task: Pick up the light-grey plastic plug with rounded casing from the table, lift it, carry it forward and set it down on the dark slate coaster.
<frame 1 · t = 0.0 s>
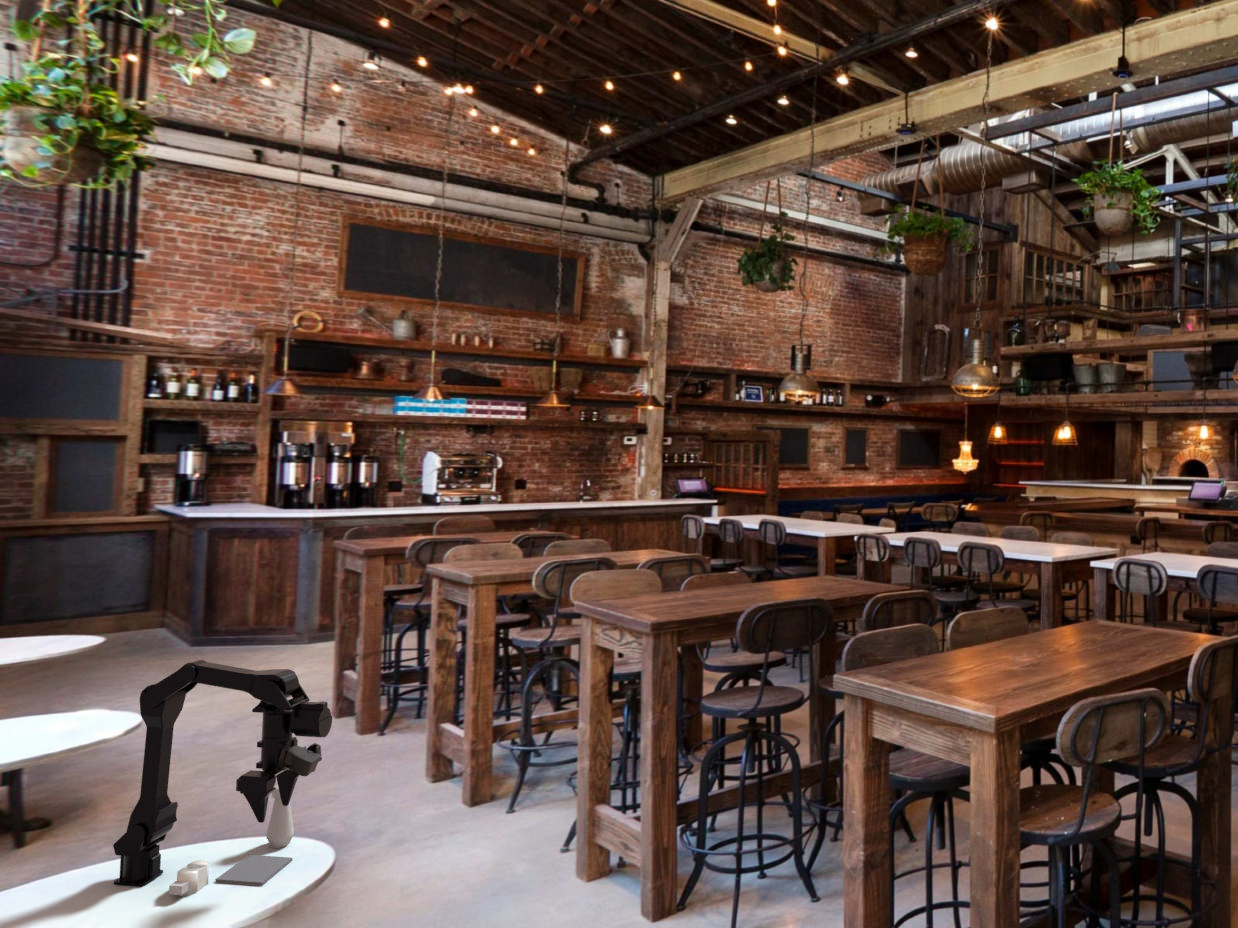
hand: (273, 813, 164), 15 cm above the table, fingers open, 9 cm apart
coaster: (255, 870, 171), on the table
plug: (192, 887, 163), on the table
salt shaker: (279, 845, 185), on the table
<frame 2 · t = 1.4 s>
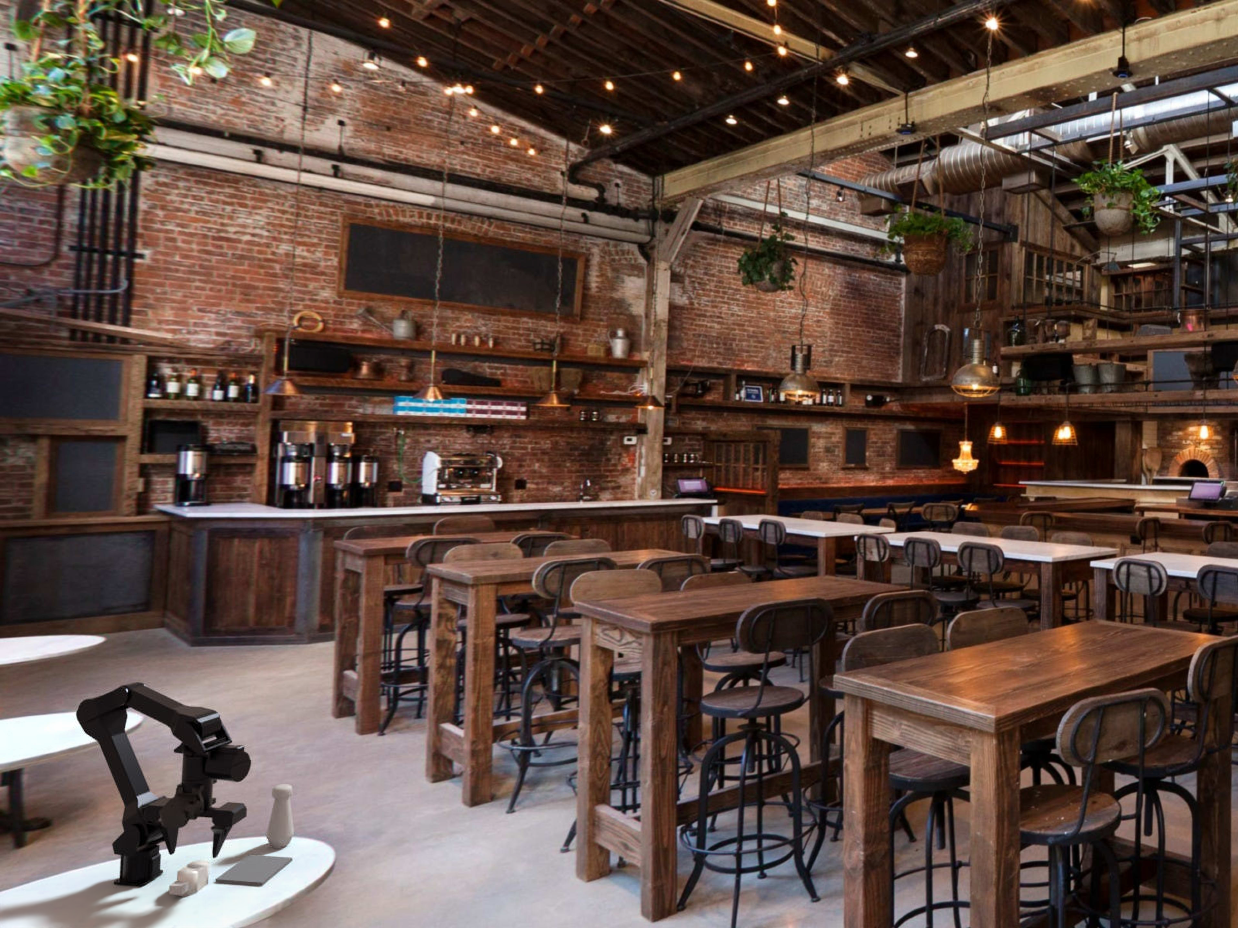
hand: (193, 855, 164), 6 cm above the table, fingers open, 9 cm apart
nothing on the table moved.
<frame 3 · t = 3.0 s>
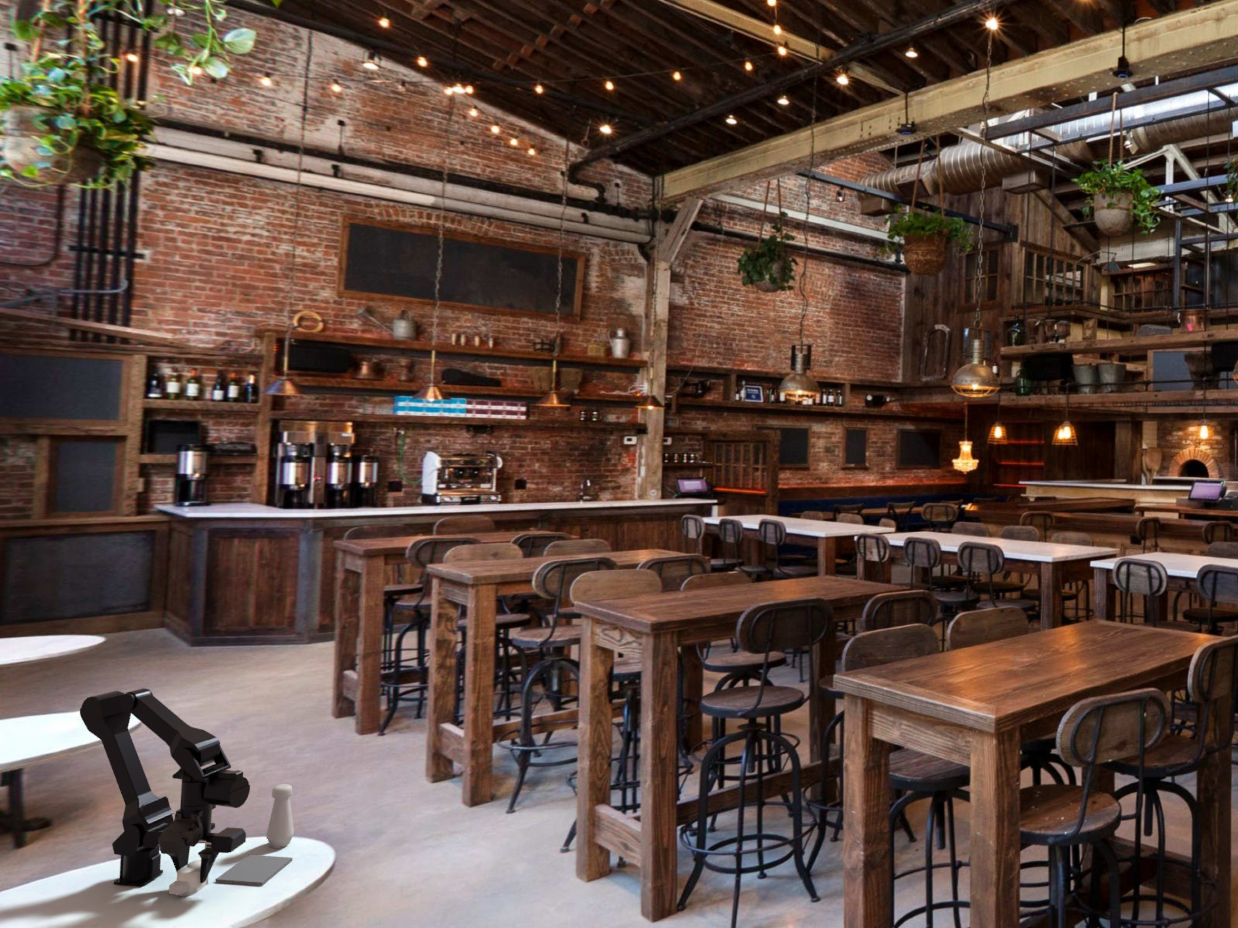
hand: (192, 881, 163), 1 cm above the table, fingers closed on plug, 4 cm apart
plug: (192, 887, 163), on the table, touching gripper
everything else where it was.
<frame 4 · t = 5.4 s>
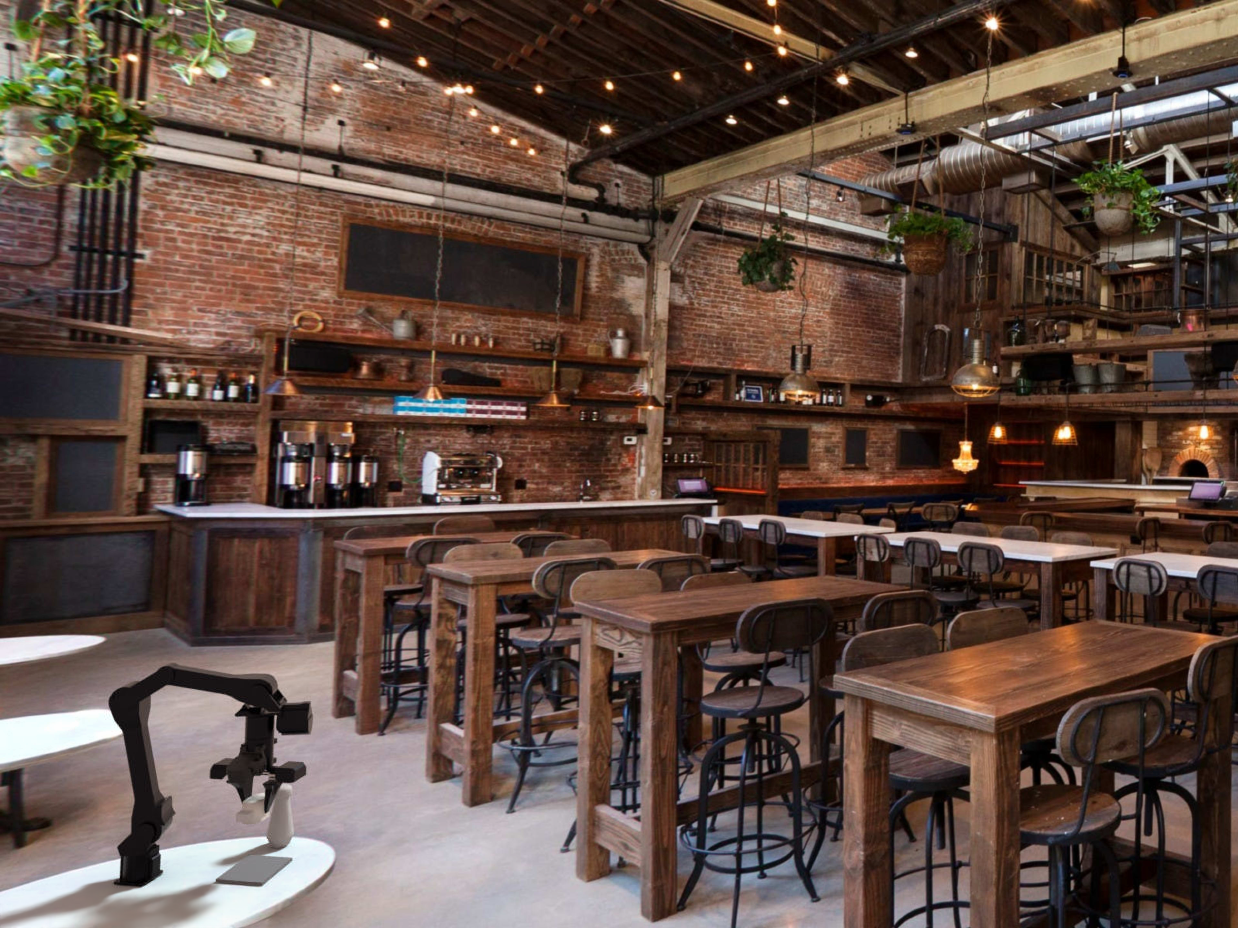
hand: (256, 811, 172), 12 cm above the table, fingers closed on plug, 4 cm apart
plug: (256, 817, 172), point 11 cm above the table, touching gripper
everything else where it was.
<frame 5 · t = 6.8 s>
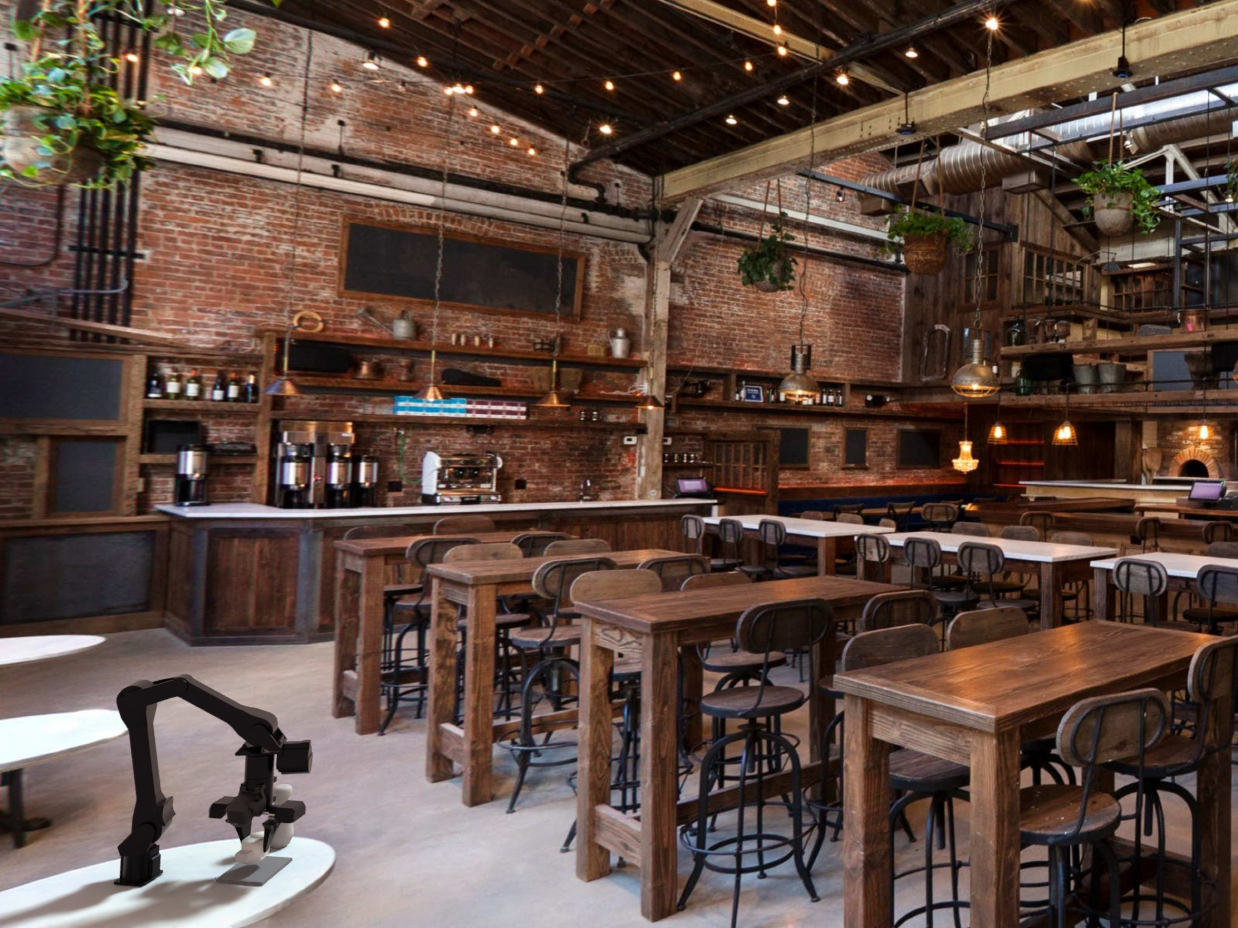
hand: (255, 850, 172), 4 cm above the table, fingers closed on plug, 4 cm apart
plug: (255, 856, 171), point 3 cm above the table, touching gripper
everything else where it was.
when the fingers open (3 cm above the table, at t = 7.9 s): plug stays where it is, resting on coaster.
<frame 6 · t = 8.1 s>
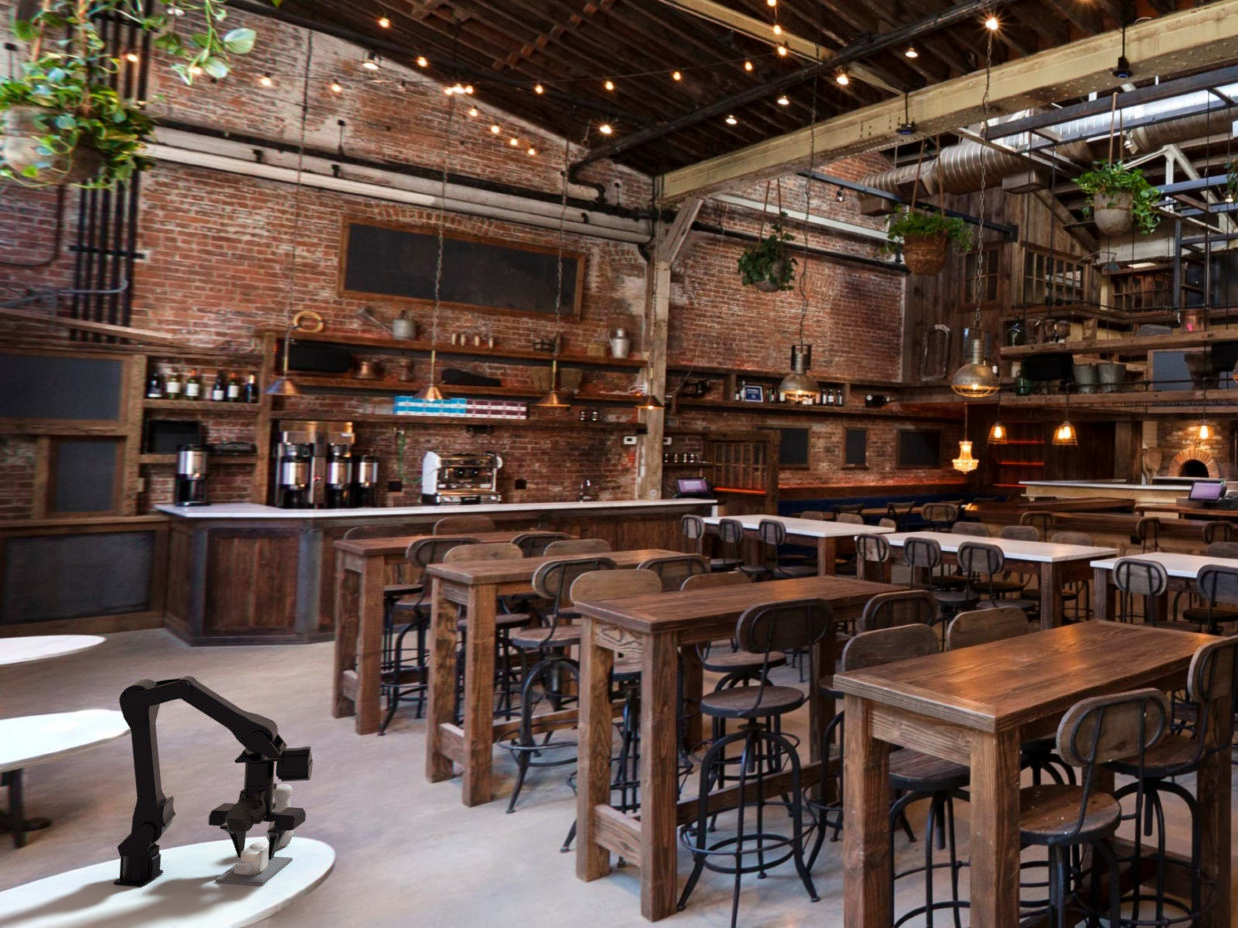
hand: (255, 858, 171), 3 cm above the table, fingers open, 6 cm apart
plug: (254, 867, 171), point 1 cm above the table, touching coaster
everything else where it was.
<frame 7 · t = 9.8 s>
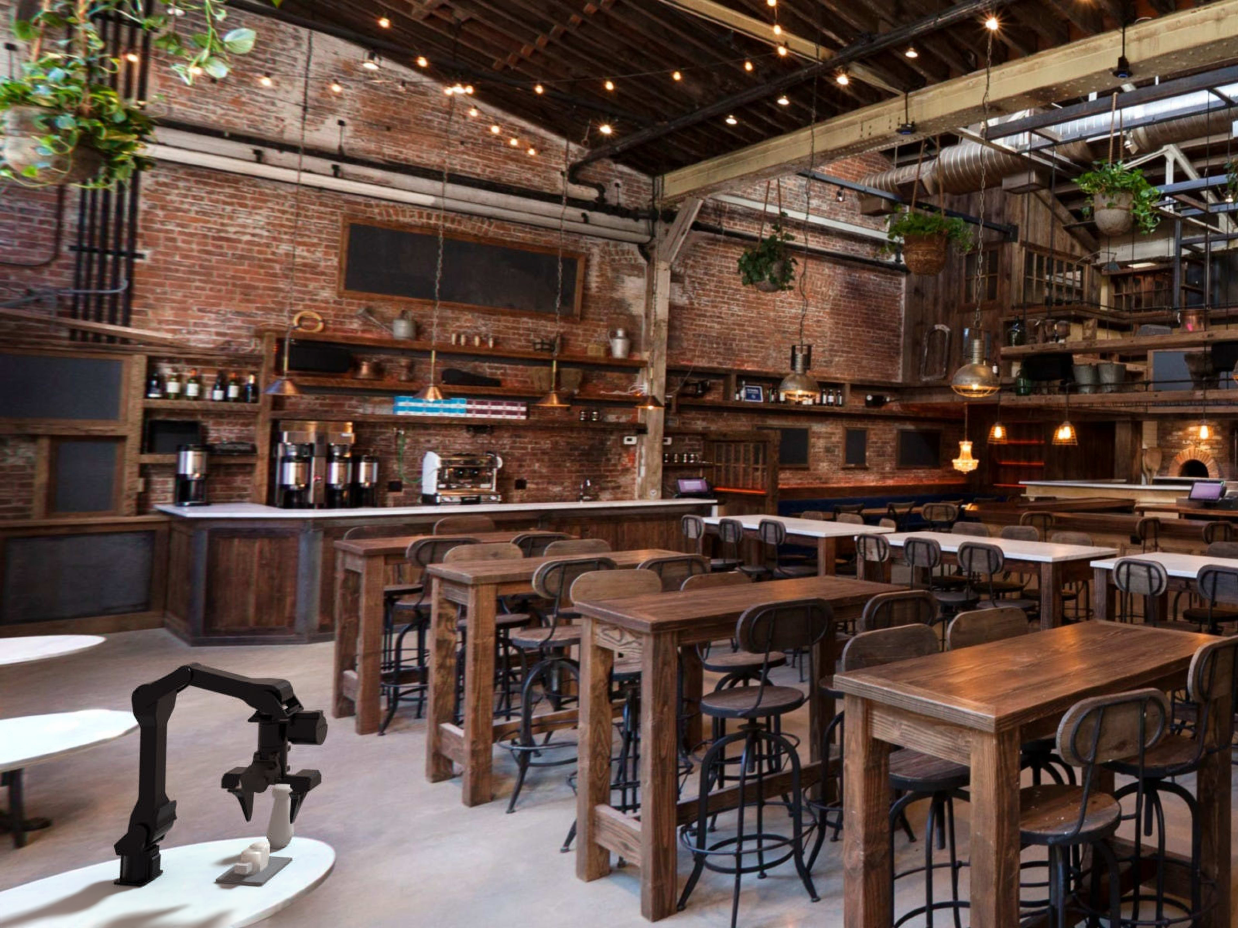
hand: (270, 821, 166), 12 cm above the table, fingers open, 9 cm apart
nothing on the table moved.
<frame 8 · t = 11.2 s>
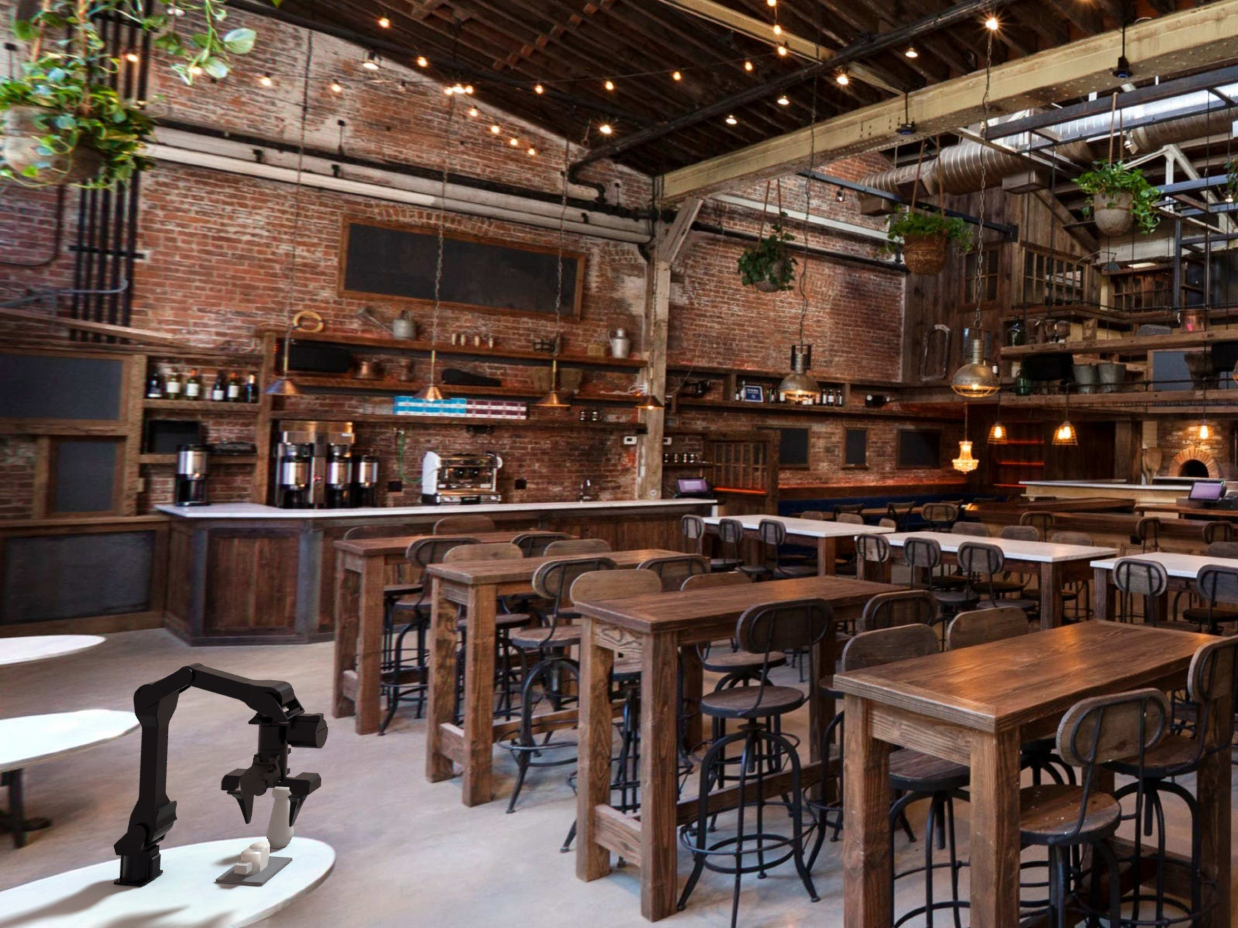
hand: (269, 824, 165), 12 cm above the table, fingers open, 9 cm apart
nothing on the table moved.
at the end: plug inside the target area on the coaster (0.1 cm from its centre), point 0.6 cm above the coaster's base; the gripper is holding nothing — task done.
